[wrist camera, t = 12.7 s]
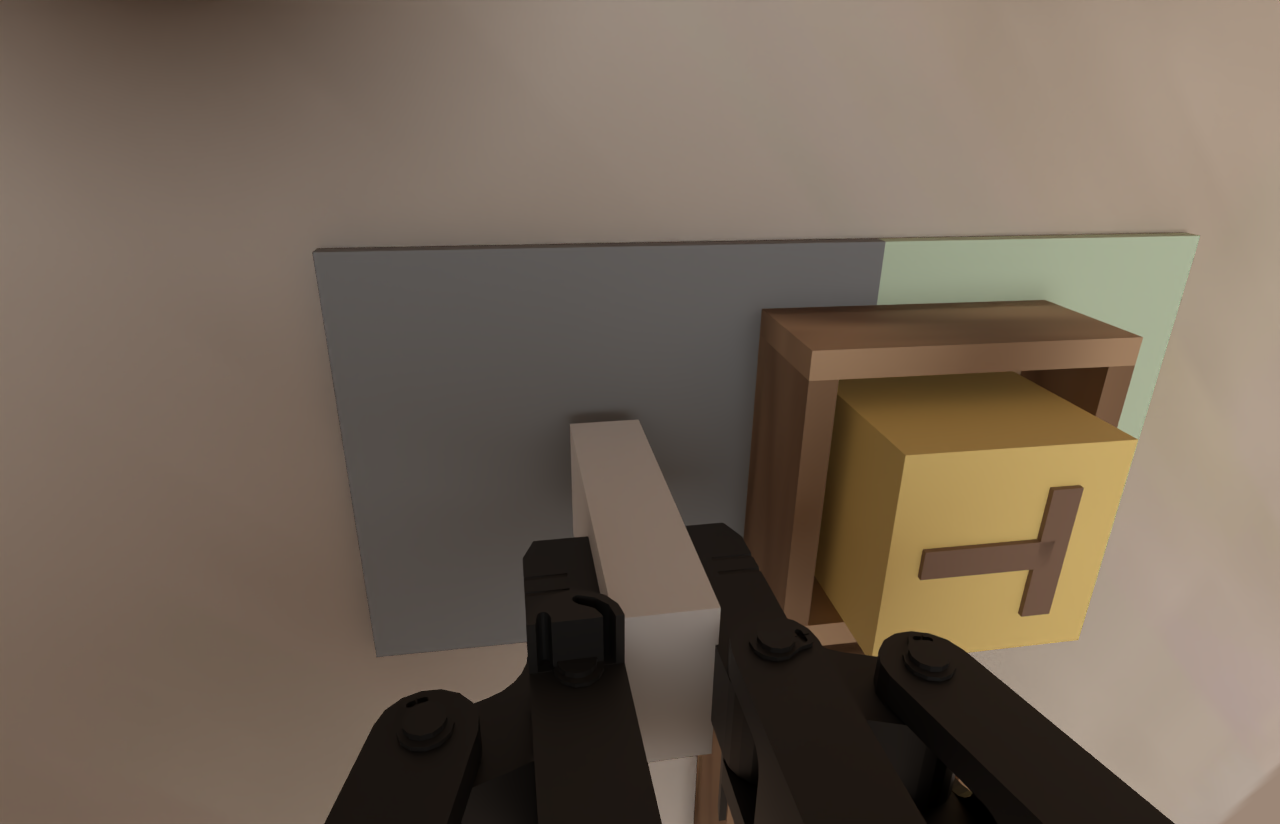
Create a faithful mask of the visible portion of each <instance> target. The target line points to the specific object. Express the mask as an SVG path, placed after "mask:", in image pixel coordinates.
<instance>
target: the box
mask: <svg viewBox="0 0 1280 824" xmlns="http://www.w3.org/2000/svg"><path fill="white" fill-rule="evenodd" d="M1142 340H1143V337H1141V336H1139V335H1136V334H1133V333H1131V332H1128V331H1126V330H1123V329H1120V328H1118V327H1115V326H1112V325H1110V324H1107V323H1105V322H1102V321H1099V320H1097V319H1094V318H1091V317H1089V316H1086V315H1084V314H1081V313H1078V312H1076V311H1073V310H1070V309H1068V308H1065V307H1063V306H1060V305H1057V304H1055V303H1052V302H1049V301H1047V300H1023V301H992V302H960V303H928V304H896V305H864V306H832V307H801V308H769V309H762V313H761V325H760V338H759V351H758V363H757V376H756V388H755V401H754V414H753V426H752V439H751V451H750V464H749V477H748V489H747V502H746V514H745V527H744V541H745V543H746V545H747V547H748V548H749V550H750V552H751V556H752V557H754V559H755V561H756V563H757V565H758V566H759V571H761V572H762V574H763V575H764V577H765V579H766V581H767V583H768V584H769V586H770V588H771V590H772V592H773V593H774V595H775V597H776V599H777V601H778V602H779V604H780V606H781V608H782V610H783V612H784V613H785V615H786V617H787V619H791V620H795V621H796V622H798V623H800V624H802V625H803V626H805V627H807V628H809V629H810V630H811V632H812V633H813V634H814V635H815V636H816V637H817V638H818V639H819V641H820V643H821V644H822V646H823V645H833V644H842V643H852V642H857V641H856V640H855V638H854V637H853V635H852V633H851V632H850V630H849V629H848V627H847V626H846V624H845V623H844V621H843V619H842V618H841V616H840V615H839V613H838V612H837V610H836V609H835V607H834V605H833V604H832V602H831V601H830V599H829V598H828V596H827V595H826V593H825V591H824V590H823V588H822V587H821V585H820V584H819V582H818V581H817V579H816V577H815V576H814V574H815V566H816V558H817V550H818V542H819V534H820V526H821V518H822V510H823V502H824V494H825V486H826V478H827V470H828V463H829V455H830V447H831V439H832V431H833V423H834V415H835V407H836V399H837V391H838V383H839V380H841V379H862V378H883V377H904V376H924V375H945V374H966V373H987V372H1008V371H1013V372H1015V373H1017V374H1019V375H1021V376H1023V377H1024V378H1026V379H1028V380H1030V381H1032V382H1034V383H1035V384H1037V385H1039V386H1041V387H1043V388H1045V389H1046V390H1048V391H1050V392H1052V393H1054V394H1056V395H1057V396H1059V397H1061V398H1063V399H1065V400H1067V401H1068V402H1070V403H1072V404H1074V405H1076V406H1078V407H1079V408H1081V409H1083V410H1085V411H1087V412H1089V413H1090V414H1092V415H1094V416H1096V417H1098V418H1100V419H1101V420H1103V421H1105V422H1107V423H1109V424H1111V425H1112V426H1114V427H1116V428H1117V427H1118V423H1119V420H1120V416H1121V413H1122V409H1123V406H1124V402H1125V399H1126V395H1127V392H1128V388H1129V385H1130V381H1131V378H1132V375H1133V371H1134V368H1135V364H1136V361H1137V357H1138V354H1139V350H1140V347H1141V343H1142Z"/></svg>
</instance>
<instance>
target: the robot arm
mask: <svg viewBox="0 0 1280 824" xmlns="http://www.w3.org/2000/svg"><path fill="white" fill-rule="evenodd" d="M570 443H571V477H572V510H573V534H574V538H562V539H551V540H540V541H533V542H532V544H531V546H530V547H529V549H528V550H527V552H526V554H525V555H524V557H523V576H524V593H525V610H526V634H527V650H528V657H527V664H526V666H525V668H524V670H523V672H522V674H521V675H520V676H519V677H518V678H517V680H516V681H515V682H514V683H513V684H511V685H510V686H509V687H507V688H506V689H505V690H503V691H502V692H500V693H498V694H496V695H494V696H492V697H489V698H487V699H484V700H482V701H479V702H477V703H474V704H473V702H471V701H470V700H469V699H467V698H466V697H464V696H463V695H461V694H460V693H456V692H452V691H447V690H442V689H440V690H429V691H421V692H418V693H415V694H413V695H410V696H407V697H404V698H402V699H400V700H399V701H398V702H396V703H395V704H393V705H392V706H390V707H389V708H388V709H386V710H385V711H384V712H383V714H382V715H381V716H380V718H379V719H378V720H377V722H376V723H375V724H374V726H373V728H372V730H371V732H370V734H369V736H368V738H367V740H366V742H365V744H364V746H363V748H362V750H361V752H360V754H359V756H358V758H357V760H356V762H355V764H354V766H353V768H352V770H351V772H350V774H349V776H348V778H347V780H346V782H345V784H344V786H343V788H342V790H341V792H340V794H339V796H338V798H337V800H336V801H335V803H334V805H333V807H332V809H331V811H330V813H329V815H328V817H327V819H326V821H325V823H324V824H662V823H661V818H660V814H659V810H658V805H657V801H656V797H655V792H654V788H653V784H652V779H651V775H650V771H649V766H648V762H655V761H663V760H670V759H677V758H684V757H691V756H698V755H705V754H712V739H713V728H714V731H715V734H716V737H717V740H718V743H719V746H720V749H721V752H722V753H721V767H720V781H719V795H718V817H719V821H723V820H726V815H727V803H728V806H729V809H730V812H731V815H732V818H733V821H734V824H1174V823H1173V822H1172V821H1171V820H1170V819H1168V818H1167V817H1166V816H1165V815H1163V814H1162V813H1161V812H1160V811H1159V810H1157V809H1156V808H1155V807H1154V806H1153V805H1151V804H1150V803H1149V802H1148V801H1146V800H1145V799H1144V798H1143V797H1142V796H1140V795H1139V794H1138V793H1137V792H1136V791H1134V790H1133V789H1132V788H1131V787H1129V786H1128V785H1127V784H1126V783H1125V782H1123V781H1122V780H1121V779H1120V778H1119V777H1117V776H1116V775H1115V774H1114V773H1112V772H1111V771H1110V770H1109V769H1108V768H1106V767H1105V766H1104V765H1103V764H1102V763H1100V762H1099V761H1098V760H1097V759H1095V758H1094V757H1093V756H1092V755H1091V754H1089V753H1088V752H1087V751H1086V750H1085V749H1083V748H1082V747H1081V746H1080V745H1078V744H1077V743H1076V742H1075V741H1074V740H1072V739H1071V738H1070V737H1069V736H1068V735H1066V734H1065V733H1064V732H1063V731H1061V730H1060V729H1059V728H1058V727H1057V726H1055V725H1054V724H1053V723H1052V722H1051V721H1049V720H1048V719H1047V718H1046V717H1044V716H1043V715H1042V714H1041V713H1040V712H1038V711H1037V710H1036V709H1035V708H1034V707H1032V706H1031V705H1030V704H1029V703H1027V702H1026V701H1025V700H1024V699H1023V698H1021V697H1020V696H1019V695H1018V694H1017V693H1015V692H1014V691H1013V690H1012V689H1010V688H1009V687H1008V686H1007V685H1006V684H1004V683H1003V682H1002V681H1001V680H1000V679H998V678H997V677H996V676H995V675H993V674H992V673H991V672H990V671H989V670H987V669H986V668H985V667H984V666H983V665H981V664H980V663H979V662H978V661H976V660H975V659H974V658H973V657H972V656H970V655H969V654H968V653H967V652H966V651H964V650H963V649H961V648H960V647H958V646H957V645H955V644H954V643H952V642H950V641H949V640H947V639H944V638H941V637H938V636H936V635H933V634H930V633H923V632H915V631H908V632H901V633H895V634H893V635H892V636H890V637H888V638H887V639H885V640H884V641H883V643H882V645H881V647H880V649H879V651H878V657H877V656H869V655H861V654H853V653H845V652H840V651H835V650H830V649H827V648H825V647H823V646H822V644H821V643H820V641H819V639H818V638H817V637H816V636H815V635H814V634H813V633H812V632H811V630H810V629H809V628H807V627H805V626H803V625H802V624H800V623H798V622H796V621H795V620H791V619H787V617H786V615H785V613H784V612H783V610H782V608H781V606H780V604H779V602H778V601H777V599H776V597H775V595H774V593H773V592H772V590H771V588H770V586H769V584H768V583H767V581H766V579H765V577H764V575H763V574H762V572H761V571H759V566H758V565H757V563H756V561H755V559H754V557H752V556H751V552H750V550H749V548H748V547H747V545H746V543H745V541H744V539H743V538H742V536H741V535H739V534H738V533H737V532H735V531H734V530H732V529H731V528H730V527H728V526H727V525H726V524H724V523H711V524H700V525H688V526H685V525H684V522H683V520H682V518H681V516H680V513H679V511H678V509H677V506H676V504H675V502H674V500H673V497H672V495H671V493H670V490H669V488H668V486H667V483H666V481H665V479H664V477H663V474H662V472H661V470H660V467H659V465H658V463H657V461H656V458H655V456H654V454H653V451H652V449H651V447H650V445H649V442H648V440H647V438H646V435H645V433H644V431H643V428H642V426H641V424H640V422H639V420H623V421H607V422H591V423H575V424H570ZM955 775H956V776H957V777H958V778H959V779H960V780H961V781H962V782H963V783H964V784H965V785H966V786H967V787H968V788H969V790H968V789H967V788H966V787H965V786H963V785H962V784H961V783H960V782H959V781H958V780H957V779H956V778H955Z"/></svg>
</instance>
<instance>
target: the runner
mask: <svg viewBox="0 0 1280 824" xmlns="http://www.w3.org/2000/svg"><path fill="white" fill-rule="evenodd" d="M1199 238H1200V236H1199V235H1194V234H1189V233H1153V234H1098V235H1042V236H986V237H931V238H875V239H819V240H764V241H708V242H652V243H597V244H541V245H485V246H430V247H374V248H318V249H316V250H315V251H314V252H313V258H314V265H315V271H316V277H317V284H318V290H319V296H320V303H321V309H322V315H323V321H324V328H325V334H326V340H327V347H328V353H329V359H330V366H331V372H332V378H333V385H334V391H335V397H336V404H337V410H338V416H339V422H340V429H341V435H342V441H343V448H344V454H345V460H346V467H347V473H348V479H349V486H350V492H351V498H352V505H353V511H354V517H355V523H356V530H357V536H358V542H359V549H360V555H361V561H362V568H363V574H364V580H365V587H366V593H367V599H368V606H369V612H370V618H371V624H372V631H373V637H374V643H375V650H376V656H377V657H383V656H393V655H403V654H413V653H423V652H433V651H443V650H453V649H463V648H473V647H483V646H493V645H503V644H513V643H523V642H527V634H526V610H525V593H524V576H523V557H524V555H525V554H526V552H527V550H528V549H529V547H530V546H531V544H532V542H533V541H540V540H551V539H562V538H574V534H573V510H572V477H571V443H570V424H575V423H591V422H607V421H623V420H639V422H640V424H641V426H642V428H643V431H644V433H645V435H646V438H647V440H648V442H649V445H650V447H651V449H652V451H653V454H654V456H655V458H656V461H657V463H658V465H659V467H660V470H661V472H662V474H663V477H664V479H665V481H666V483H667V486H668V488H669V490H670V493H671V495H672V497H673V500H674V502H675V504H676V506H677V509H678V511H679V513H680V516H681V518H682V520H683V522H684V525H685V526H688V525H700V524H711V523H724V524H726V525H727V526H728V527H730V528H731V529H732V530H734V531H735V532H737V533H738V534H739V535H741V536H742V538H743V539H744V527H745V514H746V502H747V489H748V477H749V464H750V451H751V439H752V426H753V414H754V401H755V388H756V376H757V363H758V351H759V338H760V325H761V313H762V309H769V308H801V307H832V306H864V305H896V304H928V303H960V302H992V301H1023V300H1047V301H1049V302H1052V303H1055V304H1057V305H1060V306H1063V307H1065V308H1068V309H1070V310H1073V311H1076V312H1078V313H1081V314H1084V315H1086V316H1089V317H1091V318H1094V319H1097V320H1099V321H1102V322H1105V323H1107V324H1110V325H1112V326H1115V327H1118V328H1120V329H1123V330H1126V331H1128V332H1131V333H1133V334H1136V335H1139V336H1141V337H1143V340H1142V343H1141V347H1140V350H1139V354H1138V357H1137V361H1136V364H1135V368H1134V371H1133V375H1132V378H1131V381H1130V385H1129V388H1128V392H1127V395H1126V399H1125V402H1124V406H1123V409H1122V413H1121V416H1120V420H1119V423H1118V427H1117V428H1118V429H1120V430H1122V431H1123V432H1125V433H1127V434H1129V435H1131V436H1133V437H1134V438H1136V439H1138V441H1139V437H1140V434H1141V431H1142V427H1143V424H1144V421H1145V417H1146V414H1147V411H1148V407H1149V404H1150V401H1151V397H1152V394H1153V391H1154V388H1155V384H1156V381H1157V378H1158V374H1159V371H1160V368H1161V364H1162V361H1163V358H1164V354H1165V351H1166V348H1167V344H1168V341H1169V338H1170V334H1171V331H1172V328H1173V325H1174V321H1175V318H1176V315H1177V311H1178V308H1179V305H1180V301H1181V298H1182V295H1183V291H1184V288H1185V285H1186V281H1187V278H1188V275H1189V271H1190V268H1191V265H1192V262H1193V258H1194V255H1195V252H1196V248H1197V245H1198V242H1199ZM1137 444H1138V442H1137ZM1136 447H1137V446H1136ZM1135 451H1136V449H1135ZM1134 454H1135V452H1134ZM1133 457H1134V456H1133ZM1132 460H1133V459H1132ZM1131 464H1132V462H1131ZM1130 467H1131V466H1130ZM1129 470H1130V469H1129ZM1128 474H1129V472H1128ZM1127 477H1128V476H1127ZM1126 480H1127V479H1126ZM1125 484H1126V482H1125ZM1124 487H1125V486H1124ZM1123 490H1124V489H1123ZM1122 494H1123V492H1122ZM1121 497H1122V496H1121ZM1120 500H1121V499H1120ZM1119 504H1120V502H1119ZM1118 507H1119V506H1118ZM1117 510H1118V509H1117ZM1116 514H1117V512H1116ZM1115 517H1116V516H1115ZM1114 520H1115V519H1114ZM1113 524H1114V522H1113ZM1112 527H1113V526H1112ZM1111 530H1112V529H1111ZM1110 533H1111V532H1110ZM1109 537H1110V536H1109ZM1108 540H1109V539H1108ZM1107 543H1108V542H1107ZM1106 547H1107V546H1106ZM1105 550H1106V549H1105ZM1104 553H1105V552H1104ZM1103 557H1104V556H1103ZM1102 560H1103V559H1102ZM1101 563H1102V562H1101ZM1100 567H1101V566H1100ZM1099 570H1100V569H1099ZM1098 573H1099V572H1098ZM1097 577H1098V576H1097ZM1096 580H1097V579H1096ZM1095 583H1096V582H1095Z"/></svg>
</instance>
